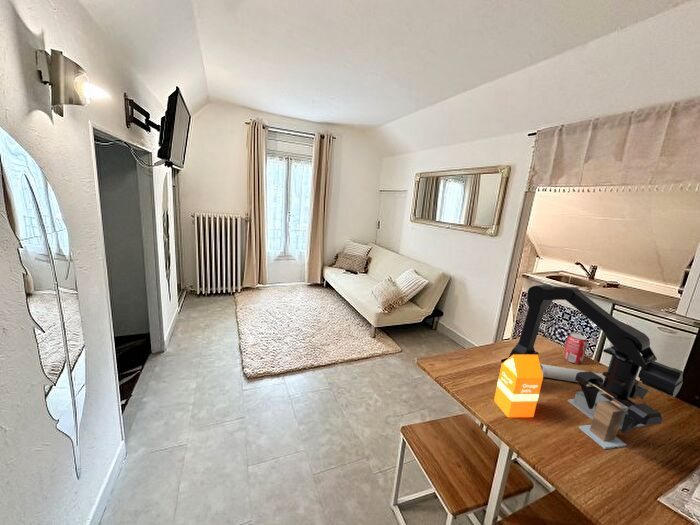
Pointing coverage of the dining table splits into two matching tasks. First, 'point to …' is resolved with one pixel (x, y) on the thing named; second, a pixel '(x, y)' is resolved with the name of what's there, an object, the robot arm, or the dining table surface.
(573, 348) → the soda can
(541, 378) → the orange juice
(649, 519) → the dining table surface
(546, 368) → the tube
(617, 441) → the mat
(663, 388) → the robot arm
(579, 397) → the grey hollow block
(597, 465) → the dining table surface
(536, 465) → the dining table surface
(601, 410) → the light wood cuboid
